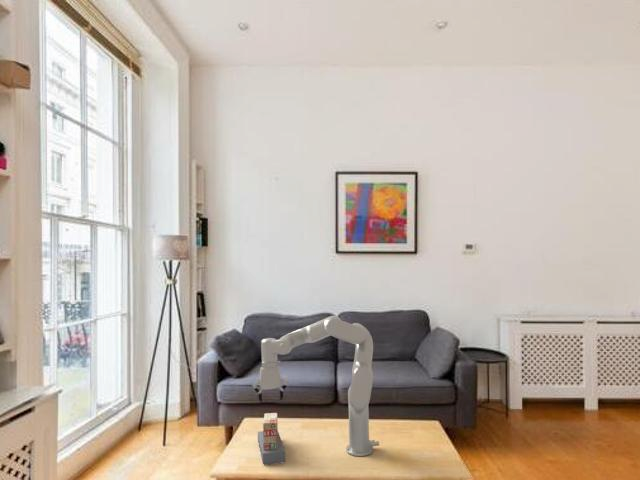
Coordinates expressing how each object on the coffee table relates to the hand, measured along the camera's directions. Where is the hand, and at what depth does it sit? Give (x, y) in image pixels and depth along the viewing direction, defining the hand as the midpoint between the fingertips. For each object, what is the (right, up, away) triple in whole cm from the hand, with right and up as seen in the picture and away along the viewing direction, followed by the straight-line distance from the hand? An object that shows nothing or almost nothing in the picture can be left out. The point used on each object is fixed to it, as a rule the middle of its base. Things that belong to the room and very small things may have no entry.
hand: (271, 400), depth 207 cm
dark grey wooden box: (0, -24, -1) cm, 24 cm away
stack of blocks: (0, -19, 0) cm, 19 cm away
